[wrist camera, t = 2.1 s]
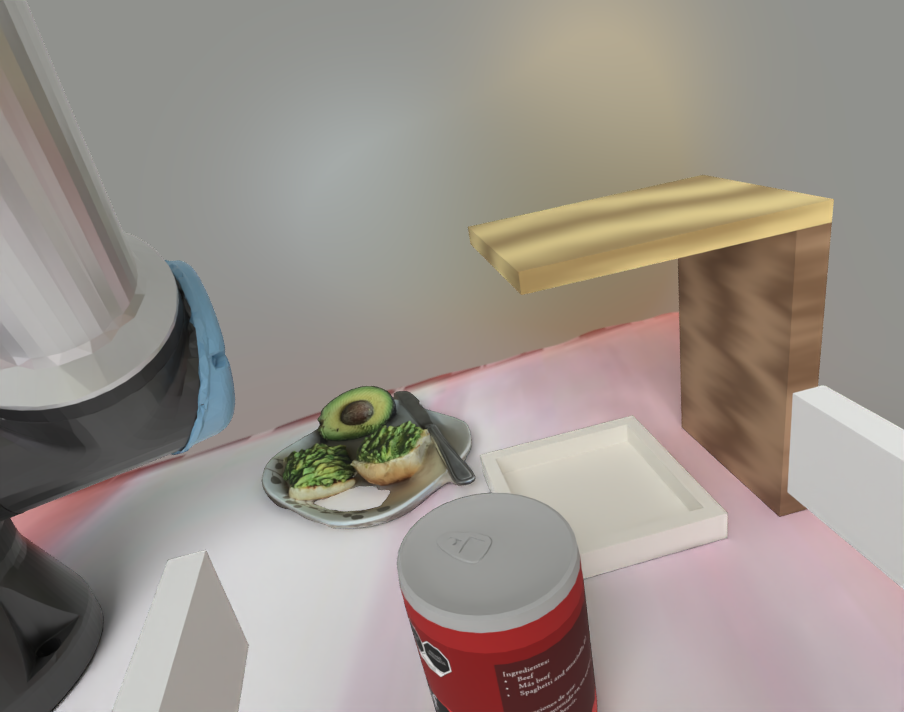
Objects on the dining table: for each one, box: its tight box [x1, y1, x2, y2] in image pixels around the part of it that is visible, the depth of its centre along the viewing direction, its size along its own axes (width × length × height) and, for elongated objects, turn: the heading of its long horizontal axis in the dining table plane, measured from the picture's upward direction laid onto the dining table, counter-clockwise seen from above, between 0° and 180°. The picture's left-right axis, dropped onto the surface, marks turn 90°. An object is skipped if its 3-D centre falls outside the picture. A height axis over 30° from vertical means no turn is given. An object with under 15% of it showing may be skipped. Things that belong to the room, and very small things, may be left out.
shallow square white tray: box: [480, 415, 728, 579], centre depth 43 cm, size 13×13×2 cm
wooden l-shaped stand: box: [468, 175, 834, 517], centre depth 40 cm, size 12×17×20 cm
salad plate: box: [262, 386, 475, 529], centre depth 52 cm, size 19×18×5 cm
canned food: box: [397, 493, 597, 712], centre depth 28 cm, size 8×8×11 cm
